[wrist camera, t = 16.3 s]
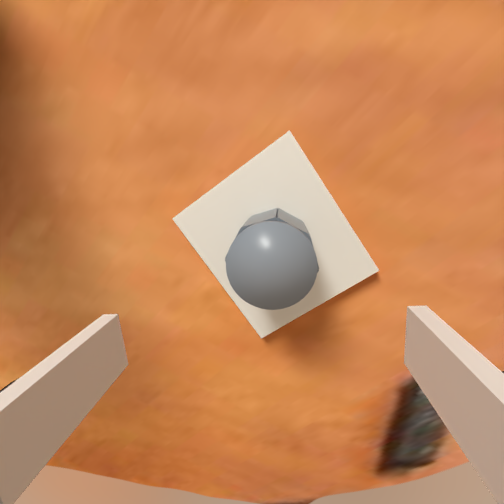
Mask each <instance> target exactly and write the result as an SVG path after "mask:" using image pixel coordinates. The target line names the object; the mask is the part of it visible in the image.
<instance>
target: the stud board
mask: <svg viewBox="0 0 504 504" xmlns="http://www.w3.org/2000/svg"><path fill="white" fill-rule="evenodd" d="M275 208H280V209H282V210H283V211H285V212H287V213H289V214H291V215H293V216H294V217H296V218H298V219H300V220H302V221H303V222H304V224H305V226H306V228H307V230H308V232H309V234H310V237H311V240H312V244H313V248H314V251H315V254H316V257H317V262H318V266H319V271H318V273H317V276H316V280H315V282H314V285H313V287H312V288H311V290H310V291H309V293H308V294H307V295H306V296H305V297H304V298H303V299H302V300H301V301H299V302H298V303H296V304H294V305H292V306H290V307H287V308H284V309H278V310H267V309H261V308H258V307H255V306H253V305H250V304H249V303H247V302H245V301H244V300H243V299H241V298H240V297H239V296H238V295H237V294H236V292H235V291H234V290H233V288H232V286H231V285H230V282H229V280H228V277H227V273H226V262H225V259H226V258H225V257H226V255H227V253H228V251H229V248H230V246H231V244H232V243H233V241H234V240H235V238H236V236H237V234H238V232H239V230H240V228H241V227H242V226H243V225H244V223H245V222H246V221H247V220H248V219H249V218H250V217H251V216H252V215H255V214H259V213H262V212H265V211H269V210H272V209H275ZM172 219H173V220H174V222H175V223H176V224H177V226H178V227H179V228H180V230H181V231H182V232H183V234H184V235H185V237H186V238H187V239H188V241H189V242H190V243H191V245H192V246H193V247H194V249H195V250H196V251H197V253H198V254H199V255H200V257H201V258H202V259H203V261H204V262H205V263H206V265H207V266H208V267H209V269H210V270H211V271H212V273H213V274H214V275H215V277H216V278H217V279H218V281H219V282H220V283H221V285H222V286H223V288H224V289H225V290H226V292H227V293H228V294H229V296H230V297H231V298H232V300H233V301H234V302H235V304H236V305H237V306H238V308H239V309H240V310H241V312H242V313H243V314H244V316H245V317H246V318H247V320H248V321H249V322H250V324H251V325H252V326H253V328H254V329H255V330H256V332H257V333H258V334H259V336H260V337H261V338H263V337H265V336H267V335H268V334H270V333H272V332H274V331H275V330H277V329H279V328H280V327H282V326H284V325H286V324H287V323H289V322H291V321H293V320H294V319H296V318H298V317H300V316H301V315H303V314H305V313H307V312H308V311H310V310H312V309H313V308H315V307H317V306H319V305H320V304H322V303H324V302H326V301H327V300H329V299H331V298H333V297H334V296H336V295H338V294H339V293H341V292H343V291H345V290H346V289H348V288H350V287H352V286H353V285H355V284H357V283H359V282H360V281H362V280H364V279H366V278H367V277H369V276H371V275H372V274H374V273H376V272H378V271H379V269H378V268H377V266H376V265H375V263H374V262H373V260H372V258H371V257H370V255H369V254H368V252H367V251H366V249H365V248H364V246H363V244H362V243H361V241H360V240H359V238H358V237H357V235H356V233H355V232H354V230H353V229H352V227H351V226H350V224H349V223H348V221H347V219H346V218H345V216H344V215H343V213H342V212H341V210H340V209H339V207H338V205H337V204H336V202H335V201H334V199H333V198H332V196H331V194H330V193H329V191H328V190H327V188H326V187H325V185H324V184H323V182H322V180H321V179H320V177H319V176H318V174H317V173H316V171H315V169H314V168H313V166H312V165H311V163H310V162H309V160H308V159H307V157H306V155H305V154H304V152H303V151H302V149H301V148H300V146H299V144H298V143H297V141H296V140H295V138H294V137H293V135H292V134H291V132H290V131H288V132H287V133H286V134H284V135H283V136H282V137H280V138H279V139H278V140H276V141H275V142H274V143H272V144H271V145H270V146H268V147H267V148H266V149H264V150H263V151H262V152H260V153H259V154H258V155H256V156H255V157H254V158H252V159H251V160H250V161H248V162H247V163H246V164H244V165H243V166H242V167H240V168H239V169H238V170H236V171H235V172H234V173H232V174H231V175H230V176H228V177H227V178H226V179H224V180H223V181H222V182H220V183H219V184H218V185H216V186H215V187H214V188H212V189H211V190H210V191H208V192H207V193H206V194H204V195H203V196H202V197H200V198H199V199H198V200H196V201H195V202H194V203H192V204H191V205H190V206H188V207H187V208H186V209H184V210H183V211H182V212H180V213H179V214H178V215H176V216H175V217H174V218H172Z"/></svg>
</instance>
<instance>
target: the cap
mask: <svg viewBox="0 0 504 504" xmlns="http://www.w3.org/2000/svg"><path fill="white" fill-rule="evenodd" d="M225 258H226V259H225V262H226V273H227V277H228V280H229V282H230V285H231V286H232V288H233V290H234V291H235V292H236V294H237V295H238V296H239V297H240V298H241V299H243V300H244V301H245V302H247V303H249V304H250V305H253V306H255V307H258V308H261V309H267V310H278V309H284V308H287V307H290V306H292V305H294V304H296V303H298V302H299V301H301V300H302V299H303V298H304V297H305V296H306V295H307V294H308V293H309V291H310V290H311V288H312V287H313V285H314V282H315V280H316V276H317V273H318V271H319V266H318V262H317V257H316V254H315V251H314V248H313V244H312V240H311V237H310V234H309V232H308V230H307V228H306V226H305V224H304V222H303V221H302V220H300V219H298V218H296V217H294V216H293V215H291V214H289V213H287V212H285V211H283V210H282V209H280V208H275V209H272V210H269V211H265V212H262V213H259V214H255V215H252V216H251V217H250V218H249V219H248V220H247V221H246V222H245V223H244V225H243V226H242V227H241V228H240V230H239V232H238V234H237V236H236V238H235V240H234V241H233V243H232V244H231V246H230V248H229V251H228V253H227V255H226V257H225Z"/></svg>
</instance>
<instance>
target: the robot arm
mask: <svg viewBox="0 0 504 504" xmlns="http://www.w3.org/2000/svg"><path fill="white" fill-rule="evenodd" d="M404 364H405V365H406V367H407V368H408V370H409V371H410V373H411V374H412V376H413V377H414V379H415V380H416V382H417V383H418V385H419V386H420V388H421V389H422V391H423V392H424V394H425V395H426V397H427V398H428V400H429V401H430V403H431V404H432V406H433V407H434V409H435V410H436V412H437V413H438V415H439V416H440V418H441V419H442V421H443V422H444V424H445V425H446V427H447V428H448V430H449V431H450V433H451V434H452V436H453V437H454V439H455V440H456V442H457V443H458V445H459V446H460V448H461V449H462V451H463V452H464V454H465V455H466V457H467V458H468V460H469V461H470V463H471V464H472V466H473V467H474V469H475V471H476V472H477V473H478V475H479V477H480V478H481V479H482V481H483V482H484V484H485V485H486V487H487V488H488V490H489V492H490V493H491V494H492V496H493V497H494V499H495V501H496V502H497V503H498V504H504V371H500V370H499V369H498V368H497V367H496V366H494V365H493V364H492V363H491V362H490V361H489V360H488V359H486V358H485V357H484V356H483V355H482V354H481V353H480V352H478V351H477V350H476V349H475V348H474V347H473V346H472V345H471V344H469V343H468V342H467V341H466V340H465V339H464V338H463V337H461V336H460V335H459V334H458V333H457V332H456V331H455V330H453V329H452V328H451V327H450V326H449V325H448V324H447V323H445V322H444V321H443V320H442V319H441V318H440V317H439V316H437V315H436V314H435V313H434V312H433V311H432V310H431V309H430V308H428V307H427V306H407V320H406V338H405V355H404ZM127 366H128V360H127V355H126V350H125V345H124V340H123V335H122V331H121V326H120V321H119V316H118V314H103V315H102V316H101V317H99V318H98V319H97V320H95V321H94V322H93V323H91V324H90V325H89V326H87V327H86V328H85V329H83V330H82V331H81V332H79V333H78V334H77V335H76V336H74V337H73V338H72V339H70V340H69V341H68V342H66V343H65V344H64V345H62V346H61V347H60V348H58V349H57V350H56V351H54V352H53V353H52V354H51V355H49V356H48V357H47V358H45V359H44V360H43V361H41V362H40V363H39V364H37V365H36V366H35V367H33V368H32V369H31V370H29V371H28V372H27V373H26V374H24V375H23V376H22V377H20V378H18V379H17V380H15V381H13V382H11V383H10V384H8V385H7V386H6V387H4V388H3V389H2V390H0V504H14V502H15V501H16V500H17V499H18V498H19V496H20V495H21V494H22V493H23V492H24V490H25V489H26V488H27V486H29V484H30V483H31V482H32V481H33V479H34V478H35V477H36V475H38V473H39V472H40V471H41V470H42V468H43V467H44V466H45V465H46V464H47V462H48V461H49V460H50V459H51V458H52V456H53V455H54V454H55V453H56V452H57V450H58V449H59V448H60V447H61V446H62V444H63V443H64V442H65V441H66V439H67V438H68V437H69V436H70V435H71V433H72V432H73V431H74V430H75V429H76V427H77V426H78V425H79V424H80V423H81V421H82V420H83V419H84V418H85V416H86V415H87V414H88V413H89V412H90V410H91V409H92V408H93V407H94V406H95V404H96V403H97V402H98V401H99V400H100V398H101V397H102V396H103V395H104V393H105V392H106V391H107V390H108V389H109V387H110V386H111V385H112V384H113V383H114V381H115V380H116V379H117V378H118V377H119V375H120V374H121V373H122V372H123V370H124V369H125V368H126V367H127Z"/></svg>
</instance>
